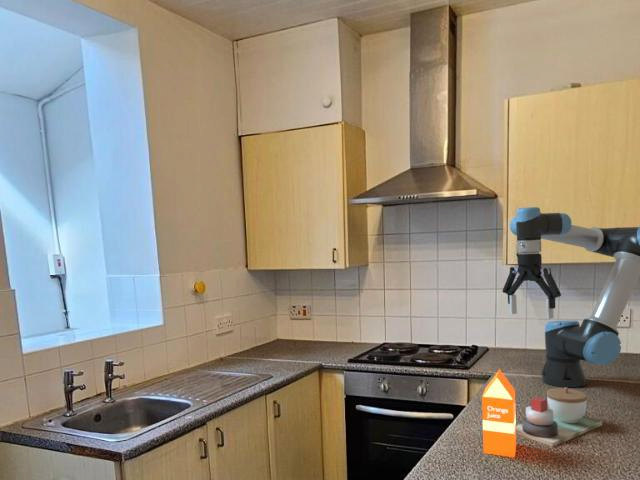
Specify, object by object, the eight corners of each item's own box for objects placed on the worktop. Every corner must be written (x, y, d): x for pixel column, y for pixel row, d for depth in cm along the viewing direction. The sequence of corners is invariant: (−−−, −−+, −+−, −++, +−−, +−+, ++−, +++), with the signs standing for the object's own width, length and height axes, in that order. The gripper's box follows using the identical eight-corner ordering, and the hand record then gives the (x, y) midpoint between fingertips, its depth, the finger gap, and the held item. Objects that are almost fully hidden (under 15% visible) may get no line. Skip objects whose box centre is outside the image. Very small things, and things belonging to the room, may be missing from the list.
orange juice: (483, 452, 127) (480, 375, 127) (486, 439, 135) (484, 367, 135) (515, 457, 123) (513, 378, 123) (517, 444, 131) (514, 369, 131)
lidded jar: (552, 410, 152) (551, 380, 152) (591, 417, 145) (590, 386, 145) (542, 421, 144) (541, 389, 144) (583, 429, 137) (582, 395, 137)
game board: (559, 412, 153) (559, 401, 153) (602, 425, 142) (602, 413, 142) (509, 431, 140) (509, 419, 140) (552, 446, 129) (552, 433, 129)
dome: (535, 414, 142) (535, 393, 142) (558, 421, 136) (558, 399, 136) (520, 419, 138) (520, 398, 138) (543, 427, 132) (543, 405, 132)
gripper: (491, 253, 173) (492, 313, 173) (558, 253, 152) (560, 321, 152) (504, 252, 177) (506, 310, 177) (571, 252, 157) (573, 319, 157)
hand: (531, 316), depth 165 cm, fingers open, 13 cm apart
